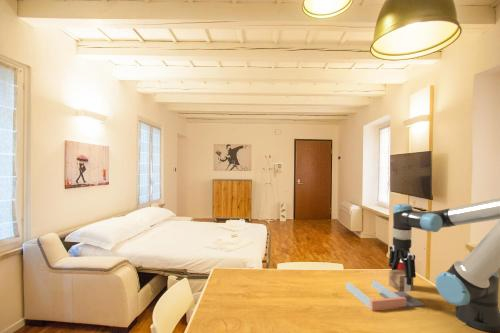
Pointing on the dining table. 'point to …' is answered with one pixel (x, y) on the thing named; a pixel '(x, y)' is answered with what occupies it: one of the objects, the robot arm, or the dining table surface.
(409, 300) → the coaster
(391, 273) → the block
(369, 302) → the channel
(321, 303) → the dining table surface
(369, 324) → the dining table surface
